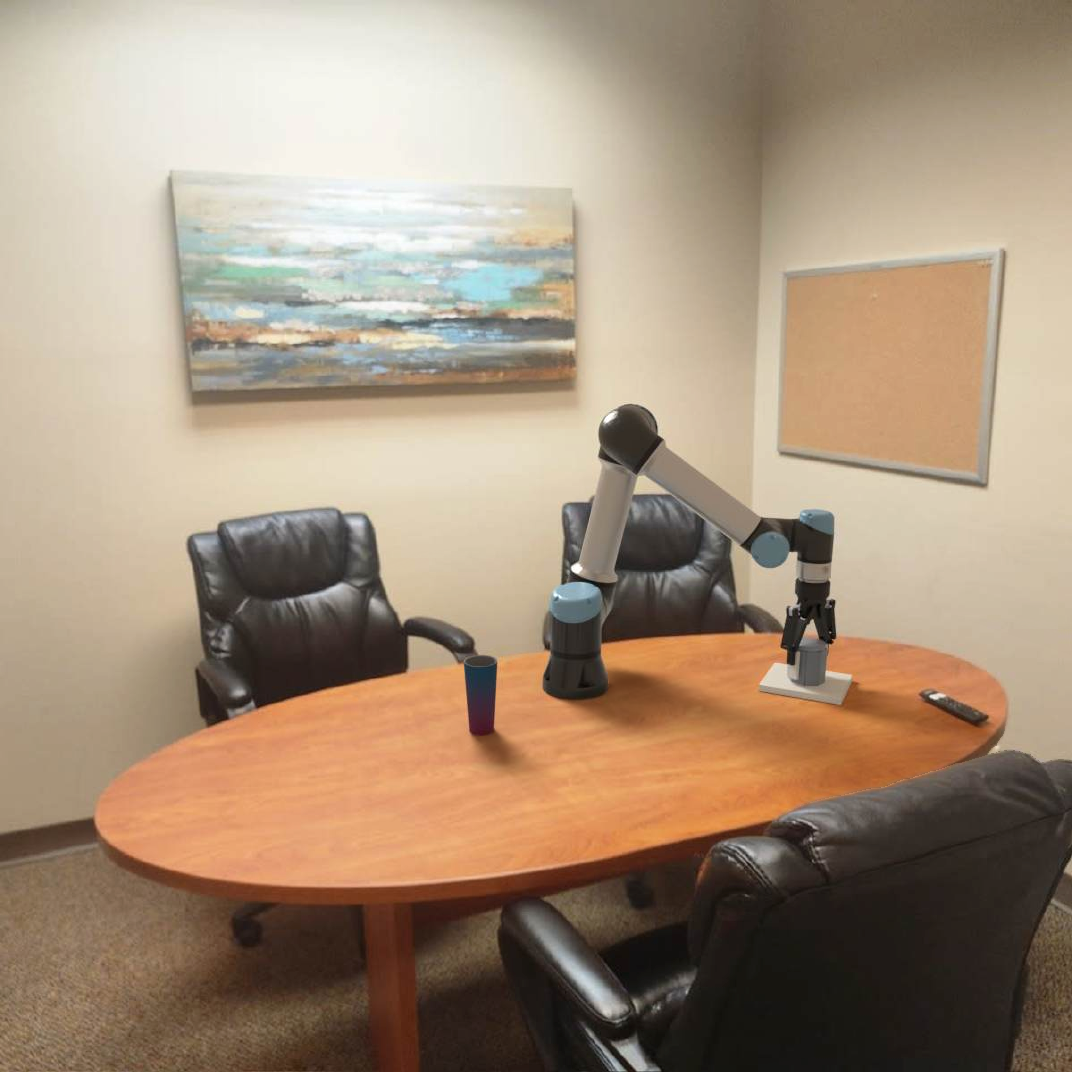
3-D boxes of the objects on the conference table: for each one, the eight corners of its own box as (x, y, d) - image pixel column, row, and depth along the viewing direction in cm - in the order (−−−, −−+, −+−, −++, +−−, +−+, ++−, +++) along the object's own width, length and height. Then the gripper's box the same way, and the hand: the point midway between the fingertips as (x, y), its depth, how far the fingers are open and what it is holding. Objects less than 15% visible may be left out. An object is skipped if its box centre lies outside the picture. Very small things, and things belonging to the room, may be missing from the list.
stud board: (758, 690, 201) (760, 659, 199) (774, 668, 215) (776, 639, 213) (841, 705, 193) (843, 672, 191) (852, 680, 207) (854, 650, 205)
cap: (828, 685, 200) (830, 648, 198) (794, 685, 200) (796, 648, 198) (817, 673, 207) (820, 637, 205) (785, 673, 207) (787, 637, 205)
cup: (458, 733, 179) (457, 663, 176) (476, 720, 185) (475, 652, 182) (487, 739, 176) (486, 668, 173) (504, 727, 182) (503, 658, 179)
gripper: (792, 589, 190) (786, 688, 194) (858, 575, 201) (850, 669, 206) (766, 581, 196) (761, 677, 201) (831, 568, 207) (824, 660, 212)
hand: (806, 673), depth 203 cm, fingers open, 9 cm apart
